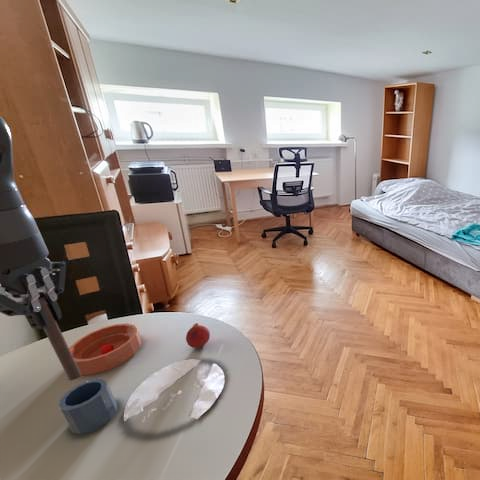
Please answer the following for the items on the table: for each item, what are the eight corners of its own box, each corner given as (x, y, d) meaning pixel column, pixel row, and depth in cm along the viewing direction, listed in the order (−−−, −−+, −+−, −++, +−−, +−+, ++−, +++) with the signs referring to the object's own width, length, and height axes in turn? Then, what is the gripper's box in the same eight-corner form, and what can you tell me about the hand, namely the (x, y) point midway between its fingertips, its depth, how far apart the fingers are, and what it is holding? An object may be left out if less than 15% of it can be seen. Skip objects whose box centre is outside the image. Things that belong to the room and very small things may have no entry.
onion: (205, 354, 79) (199, 331, 76) (185, 354, 79) (177, 331, 76) (215, 340, 84) (210, 317, 81) (196, 340, 84) (190, 317, 81)
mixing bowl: (58, 379, 71) (49, 364, 70) (100, 339, 85) (94, 325, 83) (121, 373, 73) (114, 358, 71) (152, 335, 87) (147, 321, 85)
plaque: (141, 373, 72) (140, 369, 72) (227, 354, 79) (226, 350, 78) (108, 453, 55) (105, 448, 54) (221, 419, 61) (220, 415, 61)
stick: (66, 380, 56) (27, 303, 50) (73, 373, 58) (36, 298, 52) (76, 379, 57) (38, 302, 50) (83, 372, 58) (47, 297, 52)
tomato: (99, 357, 77) (96, 349, 76) (107, 350, 80) (103, 342, 79) (111, 356, 78) (107, 348, 77) (117, 349, 80) (114, 341, 79)
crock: (62, 438, 58) (47, 412, 55) (90, 405, 65) (78, 380, 62) (102, 433, 59) (89, 407, 56) (125, 401, 66) (115, 376, 63)
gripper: (21, 223, 52) (58, 303, 59) (-77, 254, 40) (-16, 352, 46) (66, 221, 53) (98, 301, 59) (-15, 251, 40) (36, 348, 47)
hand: (48, 323), depth 53 cm, fingers closed on stick, 2 cm apart
